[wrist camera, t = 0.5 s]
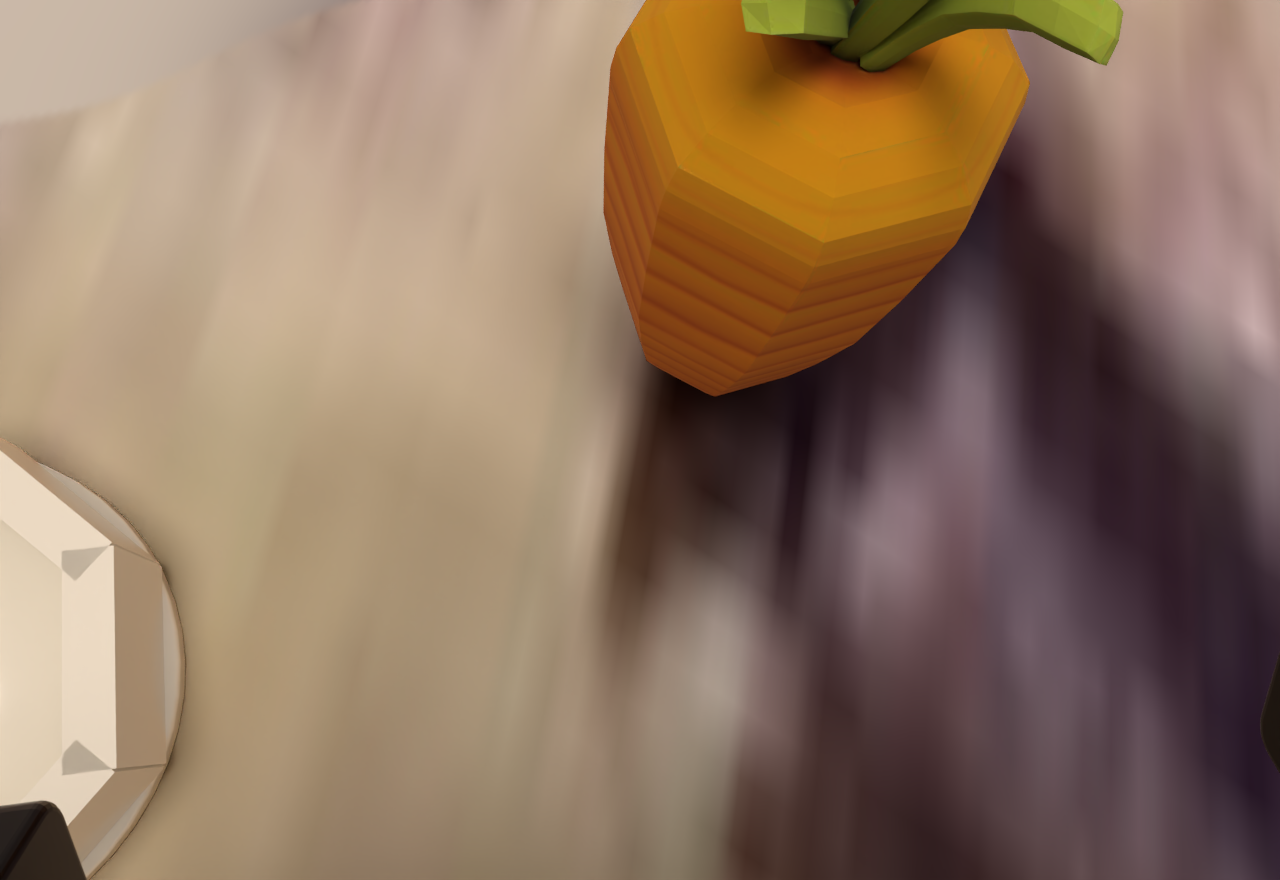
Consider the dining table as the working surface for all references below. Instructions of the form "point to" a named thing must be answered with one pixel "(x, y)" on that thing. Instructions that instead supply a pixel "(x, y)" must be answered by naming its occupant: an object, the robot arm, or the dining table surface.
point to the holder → (82, 657)
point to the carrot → (805, 164)
